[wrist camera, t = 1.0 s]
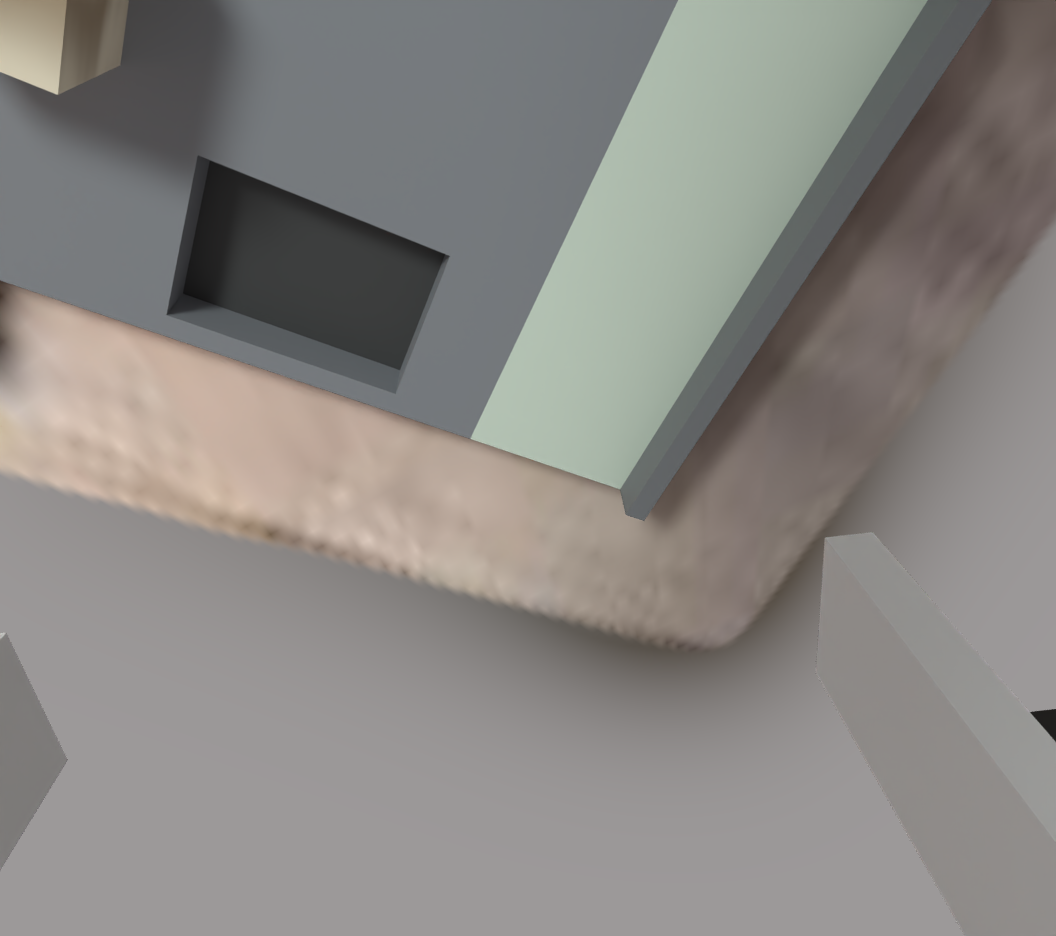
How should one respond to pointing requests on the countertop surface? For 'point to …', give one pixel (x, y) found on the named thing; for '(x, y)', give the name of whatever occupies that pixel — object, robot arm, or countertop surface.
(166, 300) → the platform
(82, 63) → the birch block
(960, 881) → the robot arm
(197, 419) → the countertop surface
